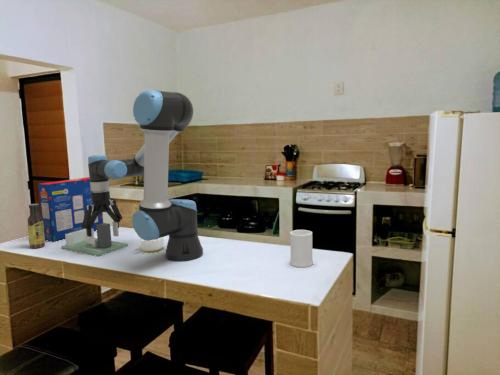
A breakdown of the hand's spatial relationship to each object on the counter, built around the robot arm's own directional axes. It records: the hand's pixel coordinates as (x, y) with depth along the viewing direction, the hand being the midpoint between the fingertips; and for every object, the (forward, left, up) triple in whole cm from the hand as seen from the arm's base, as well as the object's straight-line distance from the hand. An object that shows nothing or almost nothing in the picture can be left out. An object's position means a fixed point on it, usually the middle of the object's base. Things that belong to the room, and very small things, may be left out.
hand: (104, 239), depth 164 cm
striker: (+2, 0, -3) cm, 3 cm away
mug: (-85, -22, -5) cm, 87 cm away
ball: (+9, 0, -1) cm, 10 cm away
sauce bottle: (+32, +11, -5) cm, 35 cm away
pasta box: (+36, -11, -5) cm, 38 cm away
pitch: (+7, 0, -4) cm, 8 cm away
